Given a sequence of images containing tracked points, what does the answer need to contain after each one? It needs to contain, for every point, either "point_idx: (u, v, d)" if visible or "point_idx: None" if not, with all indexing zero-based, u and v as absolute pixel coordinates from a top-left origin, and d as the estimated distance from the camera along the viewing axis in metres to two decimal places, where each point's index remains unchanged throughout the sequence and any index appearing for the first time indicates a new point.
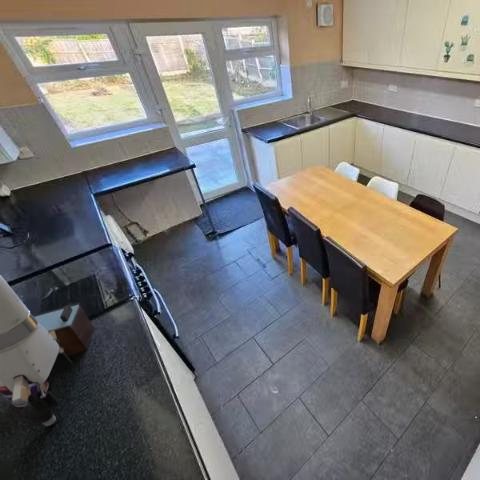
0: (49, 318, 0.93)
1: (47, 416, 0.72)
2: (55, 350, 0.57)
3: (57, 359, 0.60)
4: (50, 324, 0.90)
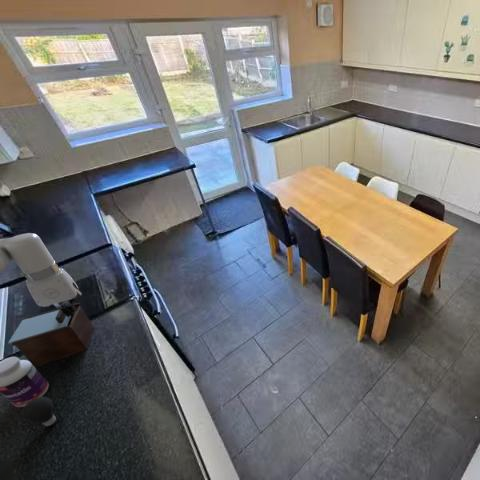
0: (44, 319, 0.93)
1: (47, 416, 0.72)
2: None
3: None
4: (46, 326, 0.90)
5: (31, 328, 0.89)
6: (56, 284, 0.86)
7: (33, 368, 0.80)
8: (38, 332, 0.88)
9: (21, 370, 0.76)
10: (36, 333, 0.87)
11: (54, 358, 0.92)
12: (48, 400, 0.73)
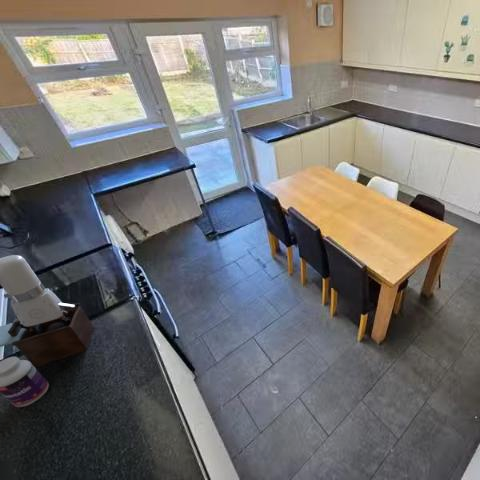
0: None
1: None
2: None
3: (38, 327, 0.91)
4: None
5: None
6: (41, 304, 0.86)
7: (33, 368, 0.80)
8: None
9: (21, 370, 0.76)
10: None
11: (54, 358, 0.92)
12: (65, 325, 0.95)
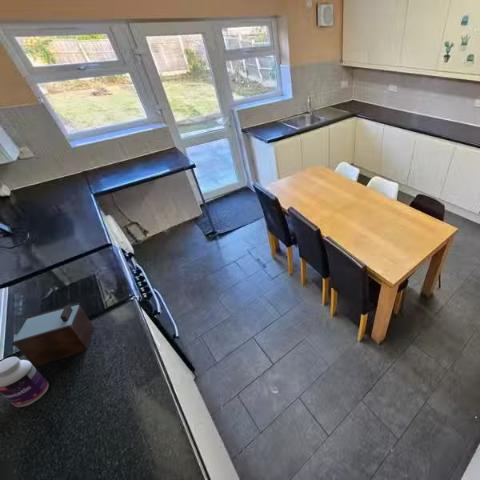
0: (49, 318, 0.93)
1: None
2: None
3: None
4: (50, 324, 0.90)
5: (36, 327, 0.90)
6: None
7: (33, 368, 0.80)
8: (43, 330, 0.88)
9: (21, 370, 0.76)
10: (41, 332, 0.88)
11: (54, 358, 0.92)
12: None
